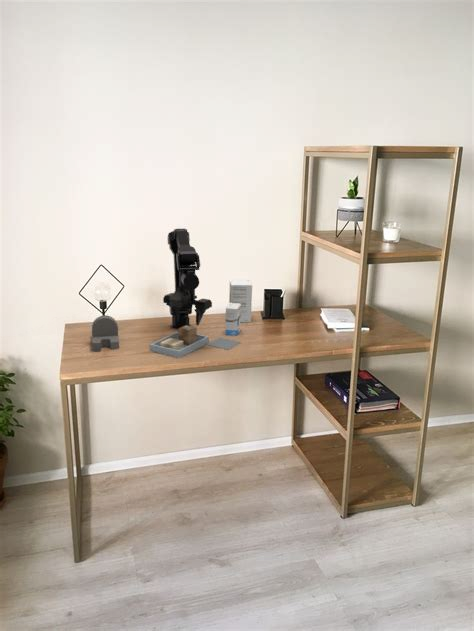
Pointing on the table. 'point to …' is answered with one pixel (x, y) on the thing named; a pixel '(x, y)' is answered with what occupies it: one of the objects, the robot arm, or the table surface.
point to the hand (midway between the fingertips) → (187, 323)
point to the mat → (223, 343)
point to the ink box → (233, 318)
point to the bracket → (104, 333)
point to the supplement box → (242, 297)
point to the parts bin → (178, 353)
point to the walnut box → (187, 335)
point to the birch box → (172, 344)
